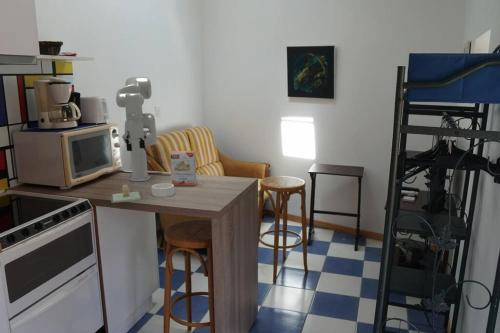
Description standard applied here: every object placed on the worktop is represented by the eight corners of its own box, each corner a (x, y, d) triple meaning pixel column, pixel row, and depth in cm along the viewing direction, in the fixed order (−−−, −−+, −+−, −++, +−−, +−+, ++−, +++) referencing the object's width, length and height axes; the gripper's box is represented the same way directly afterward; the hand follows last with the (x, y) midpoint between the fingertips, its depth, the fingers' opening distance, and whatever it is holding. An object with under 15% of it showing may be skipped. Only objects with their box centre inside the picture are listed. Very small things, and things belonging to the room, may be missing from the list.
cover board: (112, 195, 231) (111, 183, 230) (138, 193, 236) (137, 181, 234) (113, 202, 218) (112, 189, 217) (140, 199, 223) (139, 187, 221)
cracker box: (171, 186, 251) (169, 152, 247) (174, 183, 257) (172, 150, 252) (194, 186, 250) (192, 152, 245) (196, 184, 255) (195, 150, 251)
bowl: (151, 192, 237) (150, 184, 236) (172, 190, 241) (171, 182, 240) (153, 198, 226) (153, 189, 225) (175, 196, 230) (175, 187, 229)
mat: (110, 196, 231) (110, 196, 231) (140, 193, 236) (140, 193, 236) (111, 203, 218) (111, 203, 218) (142, 200, 223) (142, 199, 223)
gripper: (139, 116, 227) (142, 147, 231) (116, 118, 212) (118, 151, 216) (150, 116, 224) (152, 147, 227) (127, 118, 209) (129, 152, 212)
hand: (136, 149), depth 221 cm, fingers open, 9 cm apart
